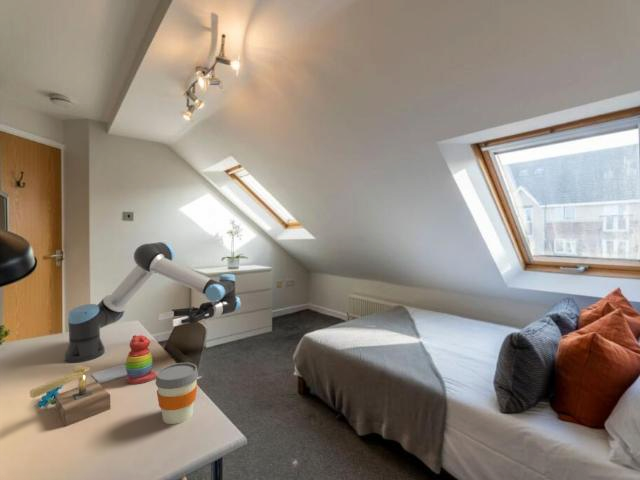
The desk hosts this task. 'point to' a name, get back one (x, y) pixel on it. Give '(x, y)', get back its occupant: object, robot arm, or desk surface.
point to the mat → (110, 374)
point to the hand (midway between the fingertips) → (165, 320)
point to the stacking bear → (139, 361)
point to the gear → (49, 397)
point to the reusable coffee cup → (177, 391)
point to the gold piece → (64, 382)
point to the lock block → (82, 403)
